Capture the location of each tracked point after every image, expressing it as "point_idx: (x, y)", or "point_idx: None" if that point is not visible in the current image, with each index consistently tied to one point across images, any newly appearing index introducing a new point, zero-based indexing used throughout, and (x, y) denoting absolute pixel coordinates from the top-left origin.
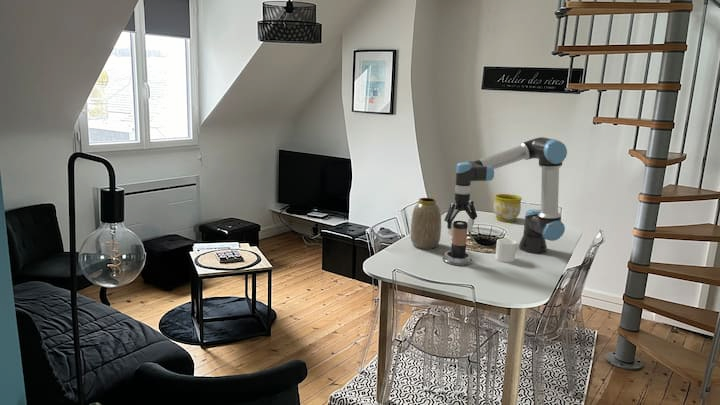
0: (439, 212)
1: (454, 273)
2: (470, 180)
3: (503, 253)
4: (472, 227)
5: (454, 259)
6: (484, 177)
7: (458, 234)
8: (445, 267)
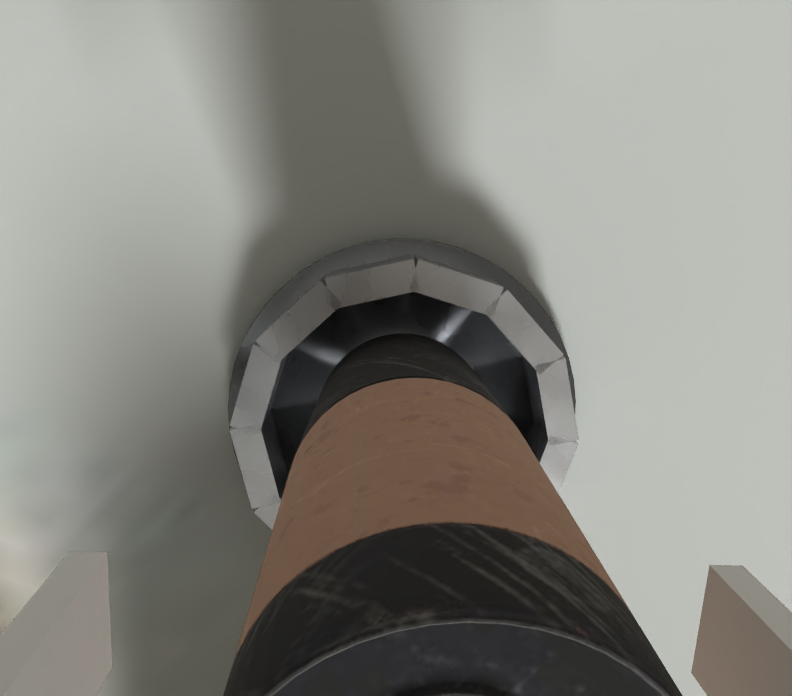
0: None
1: (747, 106)
2: None
3: None
4: (24, 615)
5: (550, 340)
6: None
7: (574, 520)
8: (683, 311)
